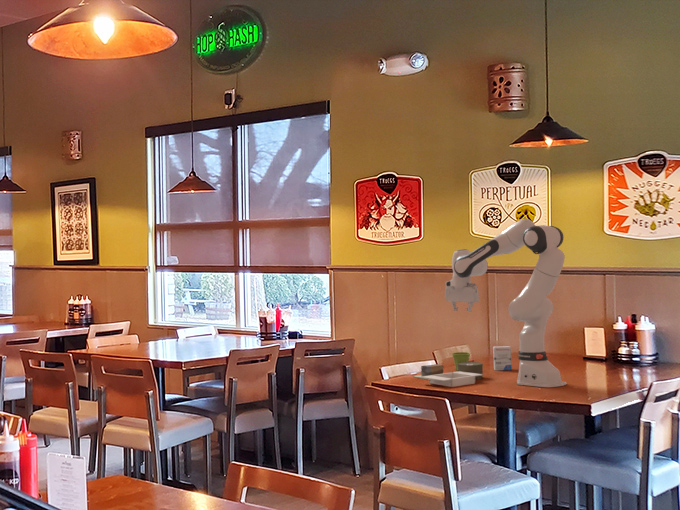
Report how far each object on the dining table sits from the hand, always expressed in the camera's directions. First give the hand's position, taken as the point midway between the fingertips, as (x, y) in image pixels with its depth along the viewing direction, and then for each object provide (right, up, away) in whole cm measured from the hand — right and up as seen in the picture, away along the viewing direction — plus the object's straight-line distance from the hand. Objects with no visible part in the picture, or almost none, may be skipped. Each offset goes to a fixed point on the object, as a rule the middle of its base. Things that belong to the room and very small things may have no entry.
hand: (462, 311), depth 392 cm
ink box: (+23, -31, +16) cm, 41 cm away
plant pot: (+2, -31, +17) cm, 36 cm away
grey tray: (-8, -31, -24) cm, 40 cm away
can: (+3, -31, -8) cm, 32 cm away
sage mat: (-16, -32, -4) cm, 35 cm away
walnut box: (-15, -31, -4) cm, 34 cm away
